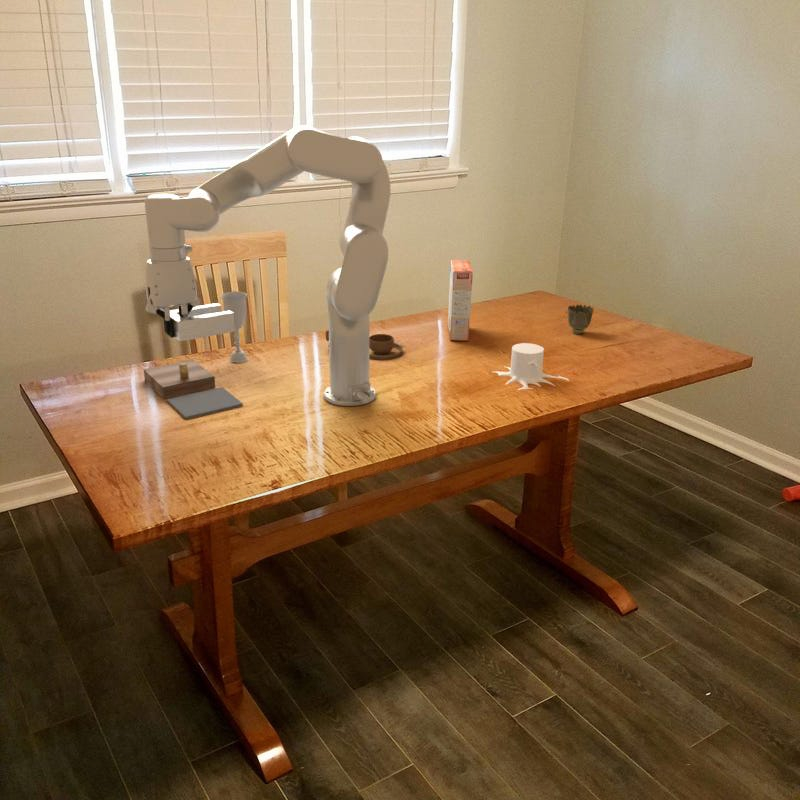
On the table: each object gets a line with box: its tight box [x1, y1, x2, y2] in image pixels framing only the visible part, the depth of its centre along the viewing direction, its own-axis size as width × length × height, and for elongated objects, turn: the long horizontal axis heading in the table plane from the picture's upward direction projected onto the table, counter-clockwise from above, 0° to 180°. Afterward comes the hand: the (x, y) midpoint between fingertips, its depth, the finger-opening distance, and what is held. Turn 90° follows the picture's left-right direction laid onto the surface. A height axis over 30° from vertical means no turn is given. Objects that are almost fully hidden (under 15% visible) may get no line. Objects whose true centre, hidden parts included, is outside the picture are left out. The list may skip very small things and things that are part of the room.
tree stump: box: [493, 342, 570, 391], centre depth 206 cm, size 20×19×8 cm
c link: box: [170, 302, 235, 342], centre depth 181 cm, size 13×9×4 cm
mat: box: [166, 386, 244, 420], centre depth 188 cm, size 12×14×1 cm
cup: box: [567, 303, 594, 335], centre depth 239 cm, size 8×7×8 cm
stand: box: [143, 359, 216, 399], centre depth 198 cm, size 14×13×6 cm
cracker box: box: [447, 259, 474, 342], centre depth 234 cm, size 14×6×21 cm, turn 179°
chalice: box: [220, 291, 249, 364], centre depth 212 cm, size 7×7×18 cm
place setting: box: [325, 330, 405, 360], centre depth 224 cm, size 18×20×6 cm
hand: (176, 334), depth 178 cm, fingers closed on c link, 2 cm apart
